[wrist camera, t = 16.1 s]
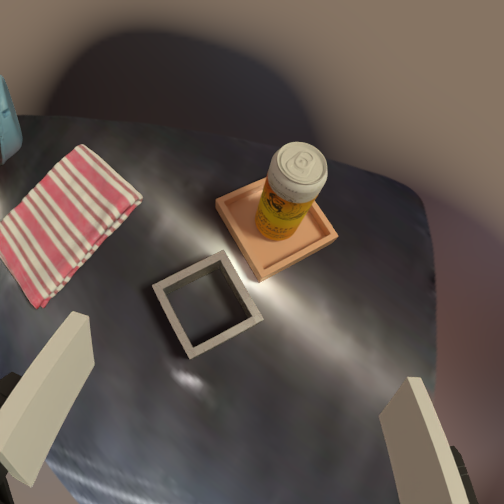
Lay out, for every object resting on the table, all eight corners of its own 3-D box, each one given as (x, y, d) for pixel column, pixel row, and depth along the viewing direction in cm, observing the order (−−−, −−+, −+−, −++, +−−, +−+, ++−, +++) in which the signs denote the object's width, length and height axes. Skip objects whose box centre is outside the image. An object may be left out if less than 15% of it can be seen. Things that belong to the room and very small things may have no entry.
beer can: (245, 226, 45) (261, 164, 31) (269, 196, 47) (292, 130, 33) (281, 251, 44) (313, 198, 30) (303, 219, 46) (340, 160, 32)
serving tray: (215, 207, 46) (215, 199, 44) (287, 176, 49) (291, 167, 47) (259, 282, 43) (262, 278, 41) (332, 242, 46) (338, 236, 44)
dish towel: (-6, 242, 40) (-17, 235, 37) (86, 147, 48) (80, 135, 45) (43, 314, 38) (32, 310, 35) (148, 200, 46) (144, 189, 43)
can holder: (156, 291, 41) (151, 285, 38) (222, 258, 44) (223, 249, 40) (191, 359, 39) (189, 359, 35) (259, 323, 41) (263, 319, 38)
